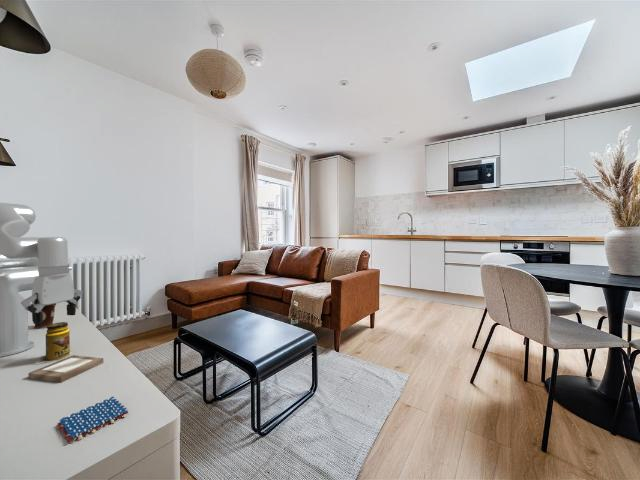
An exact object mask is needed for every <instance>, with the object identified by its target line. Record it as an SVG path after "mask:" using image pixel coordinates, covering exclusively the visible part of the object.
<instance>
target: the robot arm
mask: <svg viewBox="0 0 640 480" xmlns="http://www.w3.org/2000/svg"><path fill="white" fill-rule="evenodd" d="M35 221H36V212H35V210H34V209H33V208H32V207H30V206H28V205H27V204H26V205H25V204H19V203H18V204H17V203H6V202H0V358H2V357H6V356H11V355H15V354H19V353H22V352H24V351H28V350H30V349H31V348H33V347H34V346H35V342H34V341H33V340H31V341H29V313H31V316H32V317H31V318H32V320H31V321H32V322H33V323H32V324H33V325H35V324H42V323H43V313H42V312H40V311H41V310H42V308H43V307H44V306H45V305H50V304H55V303H56V304H60V303H64V302H66V303H68V304H66V316H75V315H76V311H77V310H76V309H77V307H76V305H77V304H78V302H79V300H80V299H81V296H82V295H83V293H84V291H83V290H81V289H76V288H74V287H75V285H74V281H73V277H72V274H71V273H70V271H72V269H73V268H72V266H69V252H68V249H69V246H68V239H66V237H63V236H46V237H37V236H34V237H33V236H31V237H29V236H28V237H25V236H24V235H26V234H28V232H29V231H30V229H31V225H32V224H33V223H35ZM23 236H24V237H23ZM25 291H31V296H29V297H26V298H25V297H23V296H22V295H21V294H20V293H19V292H25ZM31 304H33V305H34V306H31Z"/></svg>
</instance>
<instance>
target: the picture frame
mask: <svg viewBox="0 0 640 480" xmlns="http://www.w3.org/2000/svg"><path fill="white" fill-rule="evenodd" d="M102 364H104V358H103V357H94V356H85V355H74V354H73V355H70V356H69V357H68V358H65V359H62V360H57V361H56V362H55V361H54V362H52V363H50V364H48V365H45V366H43V367H40V368H38V369H36V370H33V371H30V372H28V375H27V376H28V379H34V380H41V381H47V382H56V383H63V382H65V381H67V380H69V379H71V378H73V377H76V376H78V375H80V374H82V373H85V372H87V371H88V370H91V369H93V368H96V367H97V366H99V365H102Z"/></svg>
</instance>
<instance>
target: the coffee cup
mask: <svg viewBox="0 0 640 480" xmlns="http://www.w3.org/2000/svg"><path fill="white" fill-rule="evenodd" d="M30 304H31V306H34V305H33V304H32V303H30ZM56 305H57V303H55V304H50V305H45V306H44V307H43V308H42V310H41V311H40V312H42V313H43V323H42V324H34V325H33V329H44V328H46V329H47V326H48V325H51V324H54V318H55V308H56Z"/></svg>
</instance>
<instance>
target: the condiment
mask: <svg viewBox="0 0 640 480" xmlns="http://www.w3.org/2000/svg"><path fill="white" fill-rule="evenodd" d="M70 331H71V330H70V329H69V323H68V322H66V321H63V322H55V323H54V322H53V324H51V325H48V326H47V327H46V334H45V354H44V355H41V356H40V358H39V359H38V360H37V361H36V362H35V363H34V364H33V365H40V364H44V363H49V362H50V363H52V362H55V361H56V362H57V361H60V360H63V359H65V358H68V357H70V356H72V354H73V352H74V350H71V349H70V348H71V344H70V343H71V341H70V333H71V332H70Z"/></svg>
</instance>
